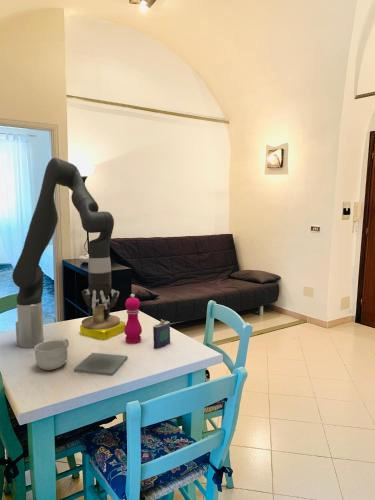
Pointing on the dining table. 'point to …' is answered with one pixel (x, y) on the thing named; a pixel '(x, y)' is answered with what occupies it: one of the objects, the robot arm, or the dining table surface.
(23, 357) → the dining table surface
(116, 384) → the dining table surface
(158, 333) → the flask
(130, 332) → the pepper mill
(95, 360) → the mat
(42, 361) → the teacup
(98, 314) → the lid
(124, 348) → the dining table surface
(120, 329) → the element tile
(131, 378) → the dining table surface
